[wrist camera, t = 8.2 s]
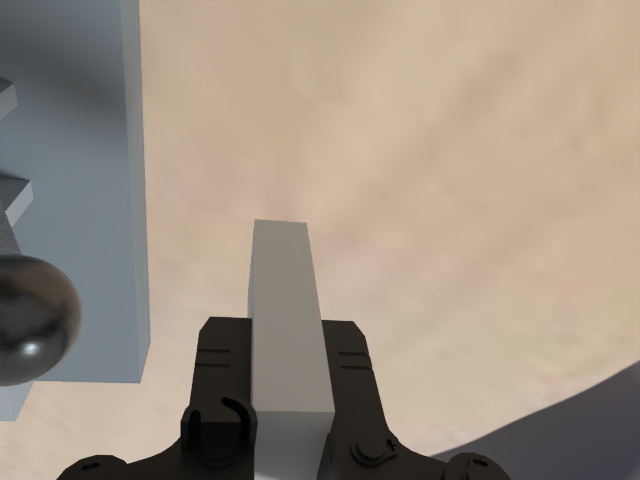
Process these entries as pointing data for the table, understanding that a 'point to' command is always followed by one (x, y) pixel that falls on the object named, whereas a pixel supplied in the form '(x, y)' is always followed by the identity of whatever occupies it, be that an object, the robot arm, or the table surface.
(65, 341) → the lever
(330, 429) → the robot arm
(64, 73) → the panel
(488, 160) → the table surface
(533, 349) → the table surface
